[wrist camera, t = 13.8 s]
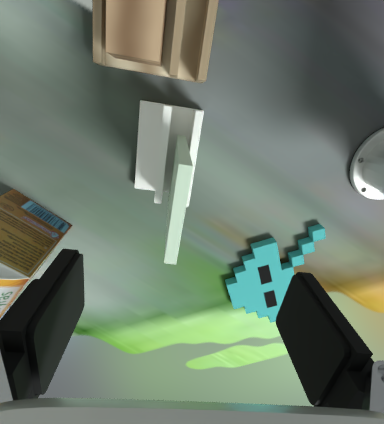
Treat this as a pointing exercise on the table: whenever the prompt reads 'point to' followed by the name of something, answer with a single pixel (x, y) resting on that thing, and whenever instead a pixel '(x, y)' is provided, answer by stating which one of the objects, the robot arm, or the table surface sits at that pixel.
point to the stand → (164, 144)
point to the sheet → (177, 198)
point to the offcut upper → (135, 29)
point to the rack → (168, 40)
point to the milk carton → (24, 242)
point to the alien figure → (268, 275)
